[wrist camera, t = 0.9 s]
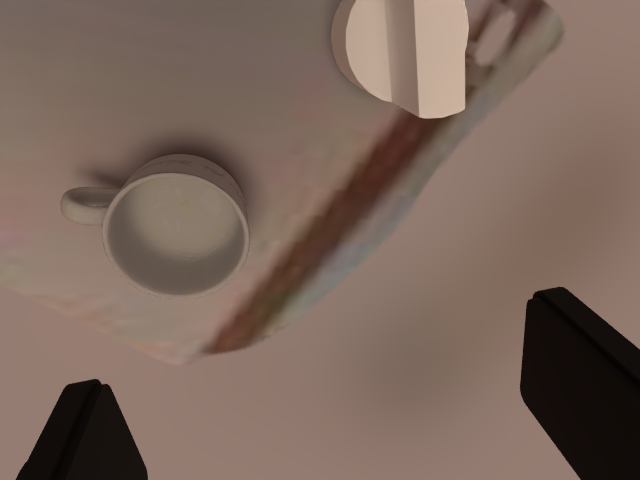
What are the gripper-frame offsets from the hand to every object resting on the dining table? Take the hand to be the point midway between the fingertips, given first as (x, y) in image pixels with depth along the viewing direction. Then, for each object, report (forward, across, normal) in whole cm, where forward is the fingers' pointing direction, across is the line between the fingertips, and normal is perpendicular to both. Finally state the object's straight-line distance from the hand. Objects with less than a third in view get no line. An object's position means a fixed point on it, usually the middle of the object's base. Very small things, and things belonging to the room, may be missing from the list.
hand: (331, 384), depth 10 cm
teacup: (+32, +10, +5) cm, 34 cm away
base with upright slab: (+32, -10, -5) cm, 35 cm away
